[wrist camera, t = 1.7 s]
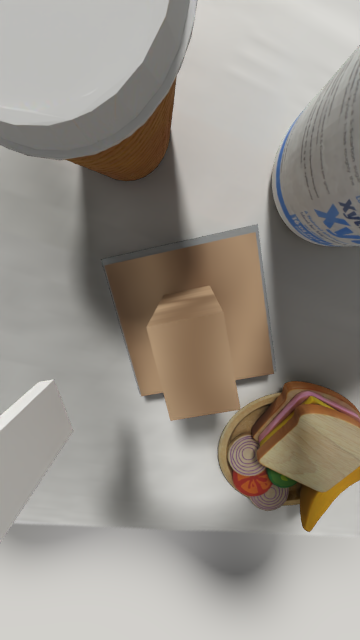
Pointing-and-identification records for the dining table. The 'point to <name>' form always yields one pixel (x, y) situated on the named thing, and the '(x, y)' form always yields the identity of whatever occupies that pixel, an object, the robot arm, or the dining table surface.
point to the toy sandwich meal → (293, 449)
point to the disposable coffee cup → (92, 80)
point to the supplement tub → (323, 164)
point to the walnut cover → (194, 323)
